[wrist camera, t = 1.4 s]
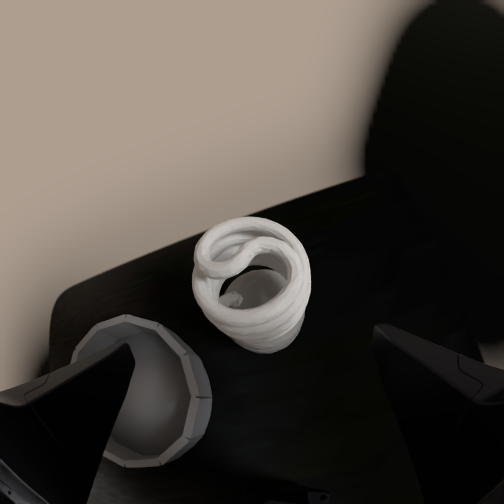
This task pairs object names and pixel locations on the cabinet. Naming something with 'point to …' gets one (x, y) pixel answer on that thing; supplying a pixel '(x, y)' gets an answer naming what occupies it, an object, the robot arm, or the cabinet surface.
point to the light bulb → (253, 282)
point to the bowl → (153, 392)
